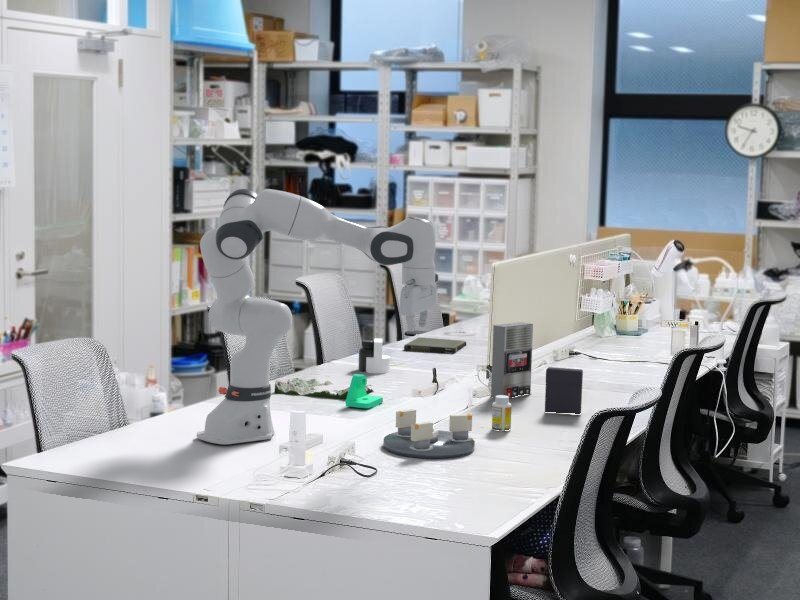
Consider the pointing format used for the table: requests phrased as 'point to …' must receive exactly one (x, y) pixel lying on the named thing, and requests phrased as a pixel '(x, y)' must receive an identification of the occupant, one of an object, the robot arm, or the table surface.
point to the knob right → (460, 426)
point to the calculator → (563, 390)
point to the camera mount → (361, 394)
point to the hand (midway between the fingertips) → (417, 328)
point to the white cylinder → (378, 360)
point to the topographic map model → (311, 389)
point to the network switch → (435, 345)
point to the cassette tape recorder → (511, 359)
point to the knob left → (421, 434)
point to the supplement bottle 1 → (365, 353)
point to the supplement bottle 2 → (501, 413)
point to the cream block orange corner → (405, 421)
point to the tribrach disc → (439, 446)
